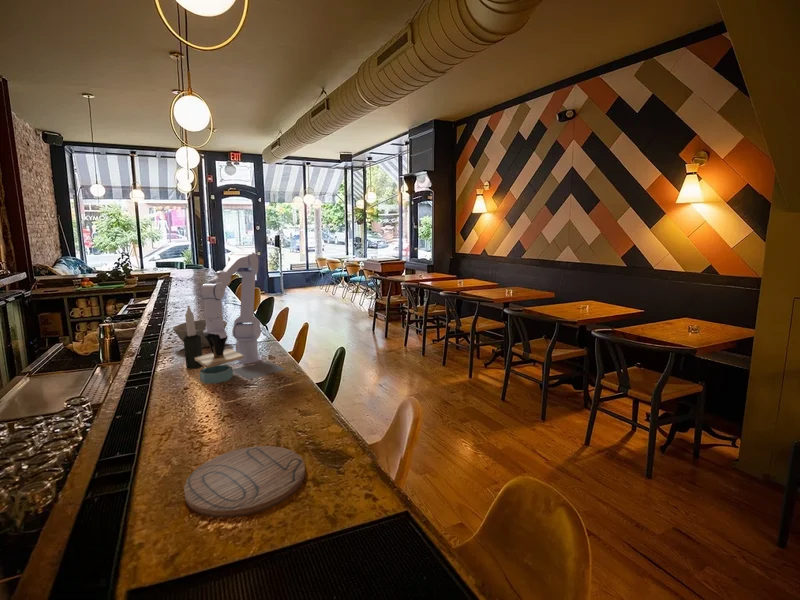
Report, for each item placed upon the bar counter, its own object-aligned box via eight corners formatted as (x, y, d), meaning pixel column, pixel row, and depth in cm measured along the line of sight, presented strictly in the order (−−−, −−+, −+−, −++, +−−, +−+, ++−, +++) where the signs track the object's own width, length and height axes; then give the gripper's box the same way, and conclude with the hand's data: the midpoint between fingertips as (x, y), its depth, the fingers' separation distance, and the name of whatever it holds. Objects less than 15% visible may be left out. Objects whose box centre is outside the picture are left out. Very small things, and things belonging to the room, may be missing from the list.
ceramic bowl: (175, 343, 215) (173, 322, 213) (227, 337, 225) (225, 317, 223) (174, 355, 195) (171, 333, 193) (231, 348, 205) (229, 326, 203)
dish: (198, 380, 164) (196, 369, 163) (225, 373, 170) (224, 363, 170) (208, 387, 156) (207, 376, 156) (236, 379, 163) (235, 369, 162)
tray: (231, 371, 172) (231, 369, 172) (268, 362, 182) (267, 360, 182) (248, 380, 161) (248, 379, 161) (286, 370, 171) (286, 369, 171)
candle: (204, 366, 180) (198, 304, 175) (197, 370, 175) (191, 306, 170) (192, 366, 180) (185, 304, 176) (185, 370, 175) (178, 306, 171)
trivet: (263, 443, 117) (262, 436, 116) (328, 475, 101) (328, 468, 101) (163, 488, 98) (162, 480, 97) (224, 537, 82) (223, 528, 82)
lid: (194, 360, 163) (192, 346, 162) (230, 350, 172) (228, 338, 171) (207, 368, 154) (205, 354, 153) (244, 358, 162) (242, 344, 161)
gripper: (195, 316, 162) (199, 352, 165) (210, 322, 152) (214, 360, 154) (214, 313, 167) (218, 348, 170) (230, 318, 157) (234, 356, 159)
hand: (217, 354), depth 162 cm, fingers closed on lid, 3 cm apart
